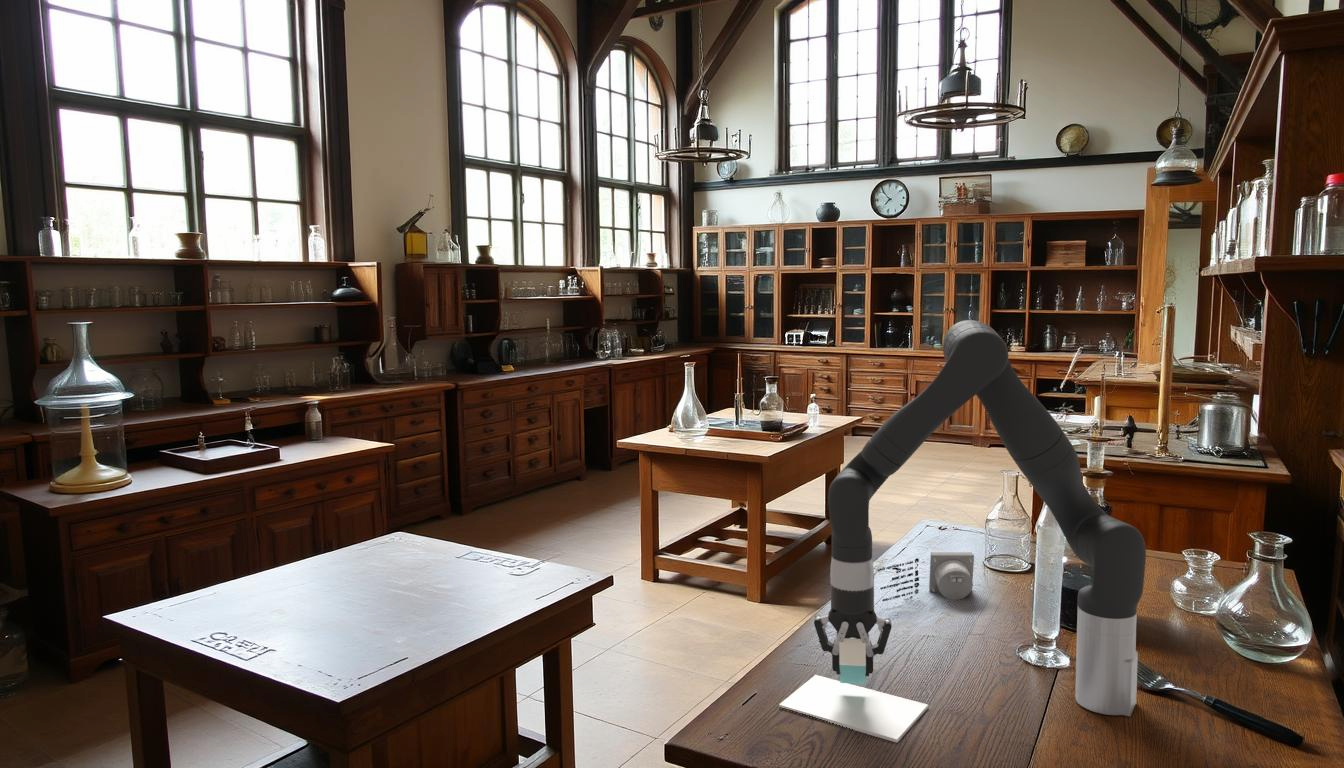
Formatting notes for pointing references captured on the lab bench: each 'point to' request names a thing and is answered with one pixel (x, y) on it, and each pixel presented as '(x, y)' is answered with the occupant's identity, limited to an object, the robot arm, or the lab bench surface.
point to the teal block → (852, 661)
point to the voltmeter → (943, 575)
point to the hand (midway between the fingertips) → (852, 673)
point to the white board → (856, 707)
